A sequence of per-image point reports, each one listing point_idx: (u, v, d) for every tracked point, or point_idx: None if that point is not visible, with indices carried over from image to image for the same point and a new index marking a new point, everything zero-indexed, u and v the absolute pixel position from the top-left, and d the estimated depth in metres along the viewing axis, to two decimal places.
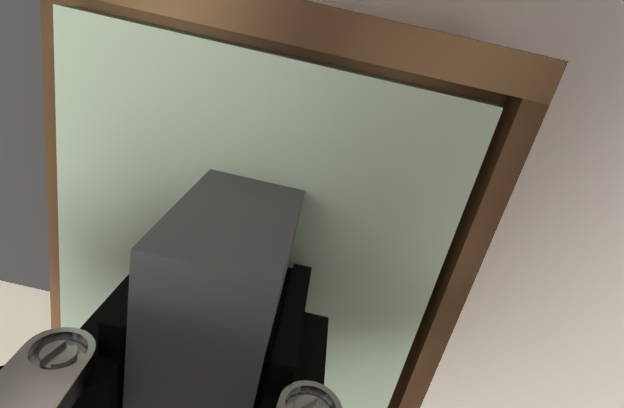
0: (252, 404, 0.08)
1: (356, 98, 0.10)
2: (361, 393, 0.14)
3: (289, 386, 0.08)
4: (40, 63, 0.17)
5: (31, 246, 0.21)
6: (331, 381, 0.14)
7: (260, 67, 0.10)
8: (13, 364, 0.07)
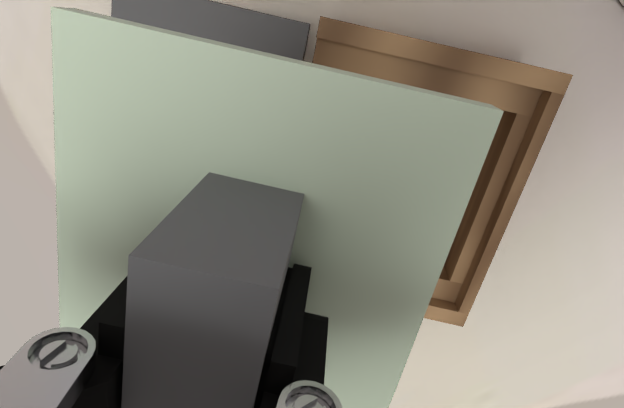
0: None
1: (355, 101, 0.10)
2: (361, 396, 0.14)
3: (289, 386, 0.08)
4: None
5: None
6: (331, 384, 0.14)
7: (259, 70, 0.10)
8: (13, 364, 0.07)
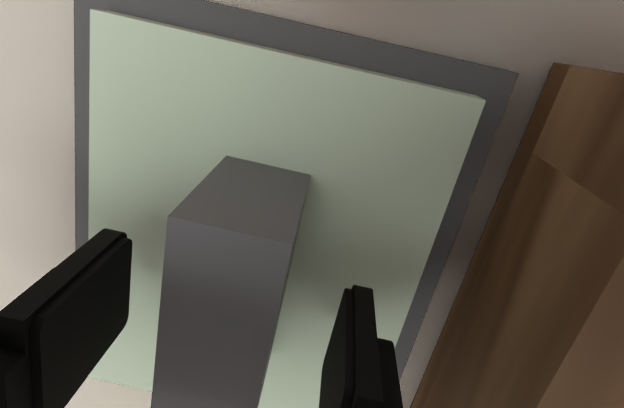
0: (267, 353, 0.10)
1: (356, 92, 0.12)
2: None
3: None
4: None
5: None
6: None
7: (272, 65, 0.12)
8: None
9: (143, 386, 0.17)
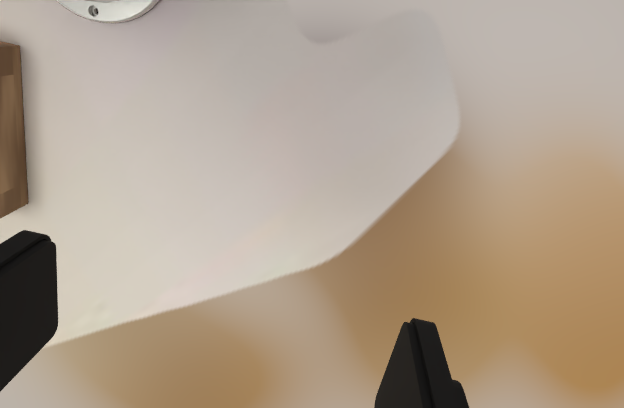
0: None
1: None
2: None
3: None
4: None
5: None
6: None
7: None
8: None
9: None
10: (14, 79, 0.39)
